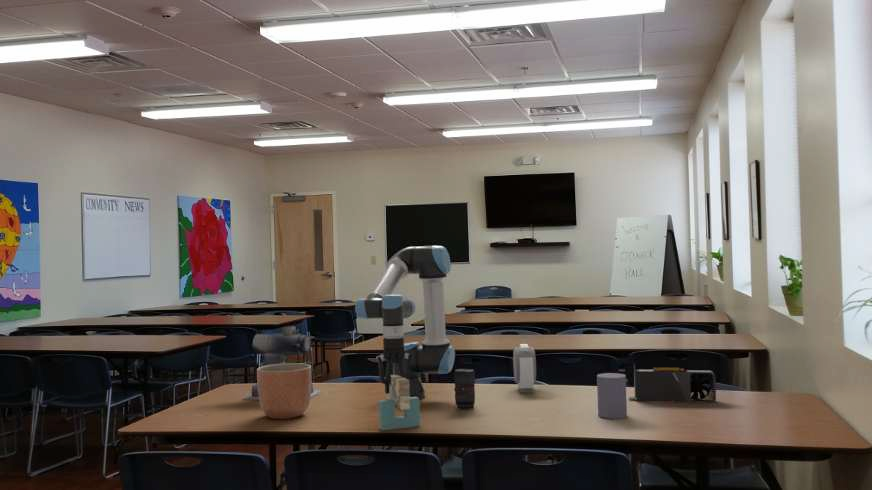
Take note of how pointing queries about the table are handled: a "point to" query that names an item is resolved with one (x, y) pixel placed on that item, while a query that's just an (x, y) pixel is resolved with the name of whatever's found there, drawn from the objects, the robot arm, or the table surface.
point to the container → (611, 395)
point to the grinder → (279, 351)
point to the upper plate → (400, 391)
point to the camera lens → (464, 388)
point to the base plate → (392, 422)
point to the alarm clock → (524, 367)
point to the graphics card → (673, 385)
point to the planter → (284, 389)
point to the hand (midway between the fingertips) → (395, 401)
